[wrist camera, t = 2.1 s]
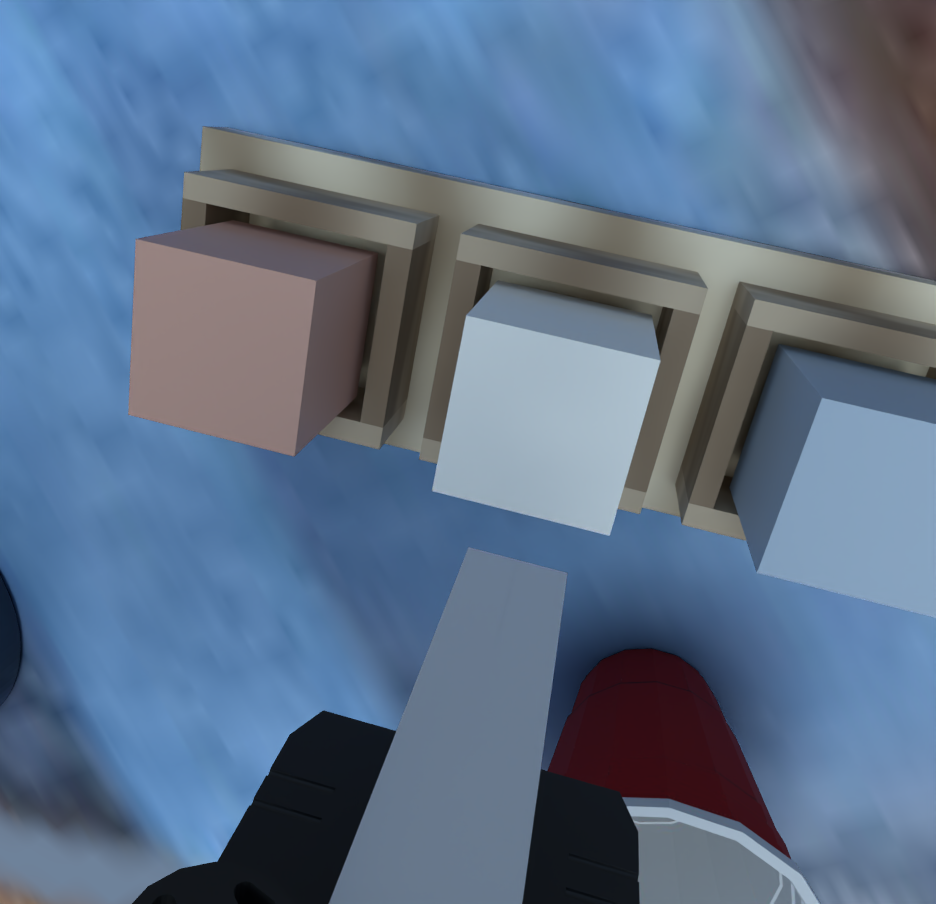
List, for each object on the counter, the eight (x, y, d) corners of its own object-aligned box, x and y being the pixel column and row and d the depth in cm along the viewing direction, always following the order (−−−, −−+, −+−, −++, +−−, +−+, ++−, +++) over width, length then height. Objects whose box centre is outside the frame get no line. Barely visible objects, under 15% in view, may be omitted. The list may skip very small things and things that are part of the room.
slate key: (729, 487, 28) (757, 572, 22) (778, 343, 26) (822, 398, 20) (881, 524, 27) (947, 620, 22) (941, 380, 25) (1031, 446, 20)
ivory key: (468, 423, 29) (431, 491, 23) (498, 280, 27) (466, 315, 21) (611, 458, 28) (609, 535, 23) (651, 314, 26) (660, 360, 21)
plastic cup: (468, 683, 38) (405, 909, 27) (658, 549, 34) (678, 746, 23) (625, 841, 39) (627, 1115, 28) (823, 728, 35) (917, 996, 24)
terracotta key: (221, 363, 29) (128, 414, 24) (233, 219, 28) (135, 239, 22) (356, 396, 29) (294, 456, 23) (378, 253, 27) (316, 280, 22)
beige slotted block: (207, 380, 35) (136, 421, 30) (227, 127, 31) (150, 123, 26) (888, 547, 32) (938, 623, 27) (998, 294, 28) (1080, 326, 23)
